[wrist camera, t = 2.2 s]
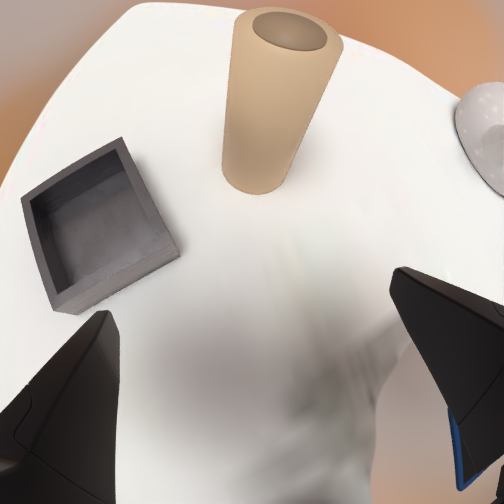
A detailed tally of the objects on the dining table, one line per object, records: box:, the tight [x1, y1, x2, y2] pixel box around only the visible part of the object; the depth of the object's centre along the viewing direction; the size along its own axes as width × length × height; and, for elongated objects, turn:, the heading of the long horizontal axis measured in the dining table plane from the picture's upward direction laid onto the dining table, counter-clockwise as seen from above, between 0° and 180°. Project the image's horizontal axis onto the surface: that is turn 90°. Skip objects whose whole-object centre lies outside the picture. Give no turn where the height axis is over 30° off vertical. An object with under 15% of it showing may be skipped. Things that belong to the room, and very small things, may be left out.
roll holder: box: [21, 137, 180, 315], centre depth 20 cm, size 10×10×4 cm
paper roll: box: [222, 7, 343, 195], centre depth 18 cm, size 6×6×14 cm
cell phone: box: [447, 408, 489, 491], centre depth 21 cm, size 7×14×1 cm, turn 19°
